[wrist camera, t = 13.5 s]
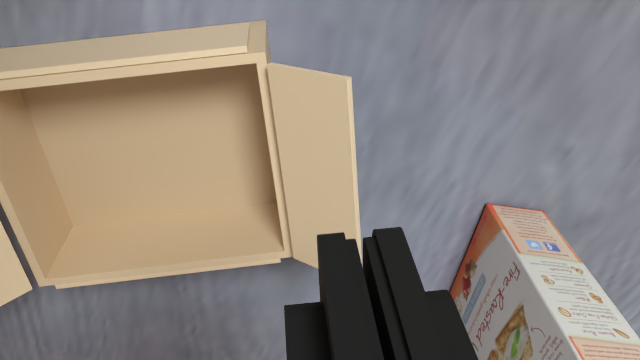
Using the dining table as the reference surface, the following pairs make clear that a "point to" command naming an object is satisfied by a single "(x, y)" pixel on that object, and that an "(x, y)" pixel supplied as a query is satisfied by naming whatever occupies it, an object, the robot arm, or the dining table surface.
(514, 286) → the cracker box
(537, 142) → the dining table surface
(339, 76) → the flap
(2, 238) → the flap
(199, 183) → the carton
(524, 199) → the dining table surface
